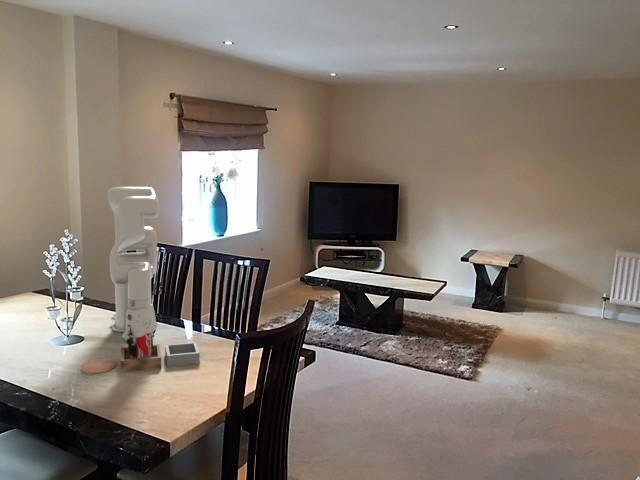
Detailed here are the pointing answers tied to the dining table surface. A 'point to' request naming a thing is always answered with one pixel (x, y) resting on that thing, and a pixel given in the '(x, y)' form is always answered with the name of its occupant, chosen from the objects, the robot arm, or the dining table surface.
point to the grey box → (182, 354)
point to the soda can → (143, 347)
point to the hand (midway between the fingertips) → (140, 351)
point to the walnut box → (140, 360)
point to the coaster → (97, 366)
